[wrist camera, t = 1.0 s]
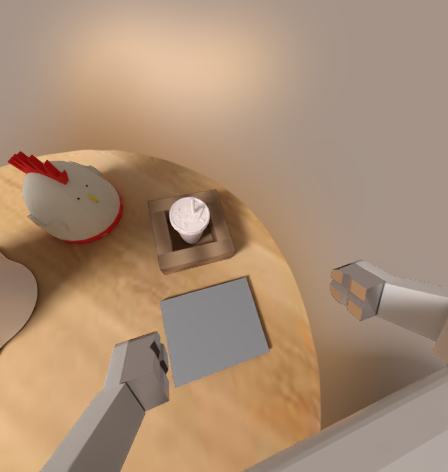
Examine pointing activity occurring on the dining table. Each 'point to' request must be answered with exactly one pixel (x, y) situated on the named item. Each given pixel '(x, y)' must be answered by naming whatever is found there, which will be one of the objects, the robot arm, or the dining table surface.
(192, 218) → the smoothie
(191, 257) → the holder collar
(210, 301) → the rubber mat
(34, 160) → the kitchen timer
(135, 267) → the dining table surface
